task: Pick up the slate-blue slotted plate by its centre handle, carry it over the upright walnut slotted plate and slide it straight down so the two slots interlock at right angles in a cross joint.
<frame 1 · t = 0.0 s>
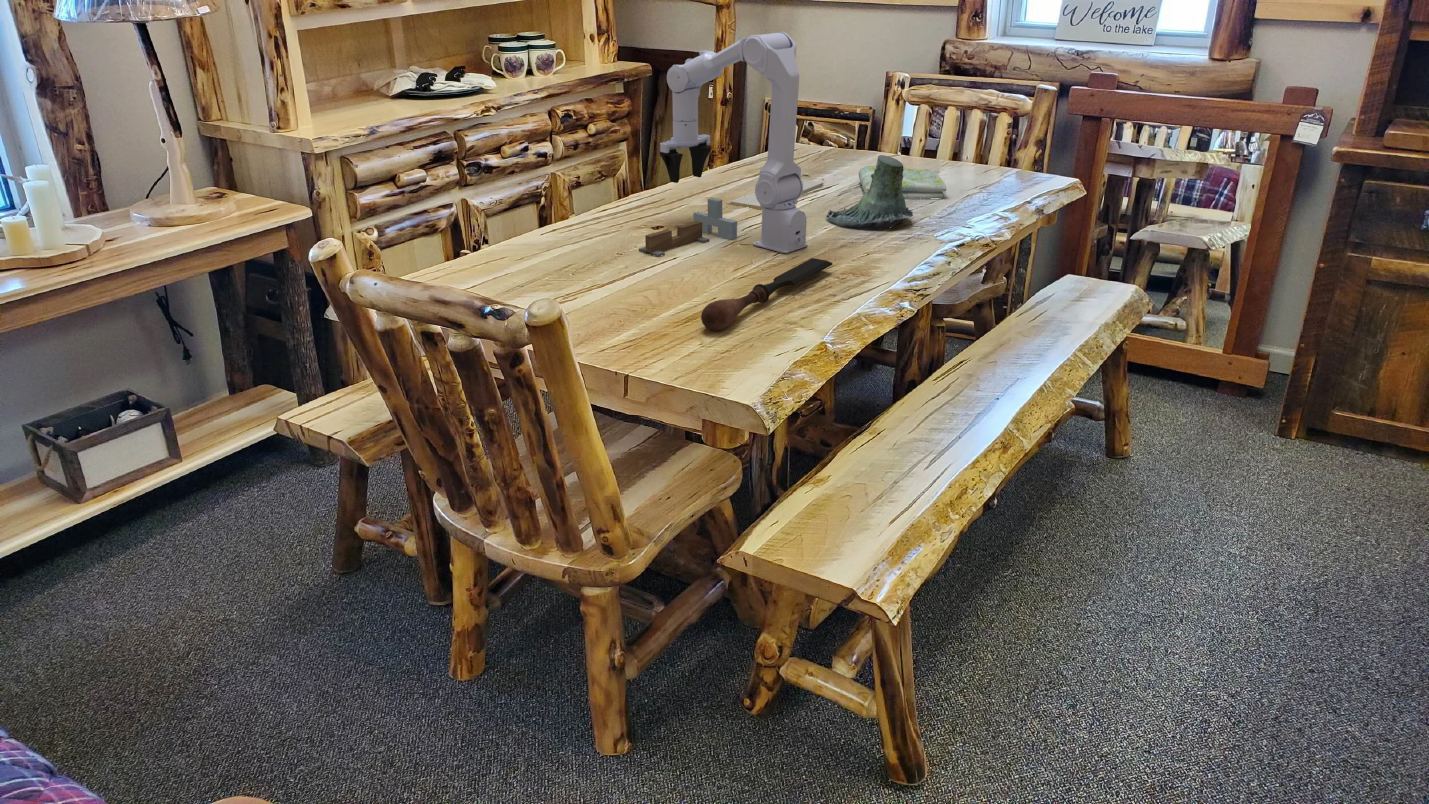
hand: (685, 179, 237), 10 cm above the table, tool pointing down, fingers open, 7 cm apart
towel: (900, 193, 270), on the table
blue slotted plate: (714, 234, 232), on the table
walnut slotted plate: (674, 246, 224), on the table
chisel: (769, 301, 193), on the table
baseboard molding: (774, 197, 266), on the table
tree stump: (869, 221, 243), on the table
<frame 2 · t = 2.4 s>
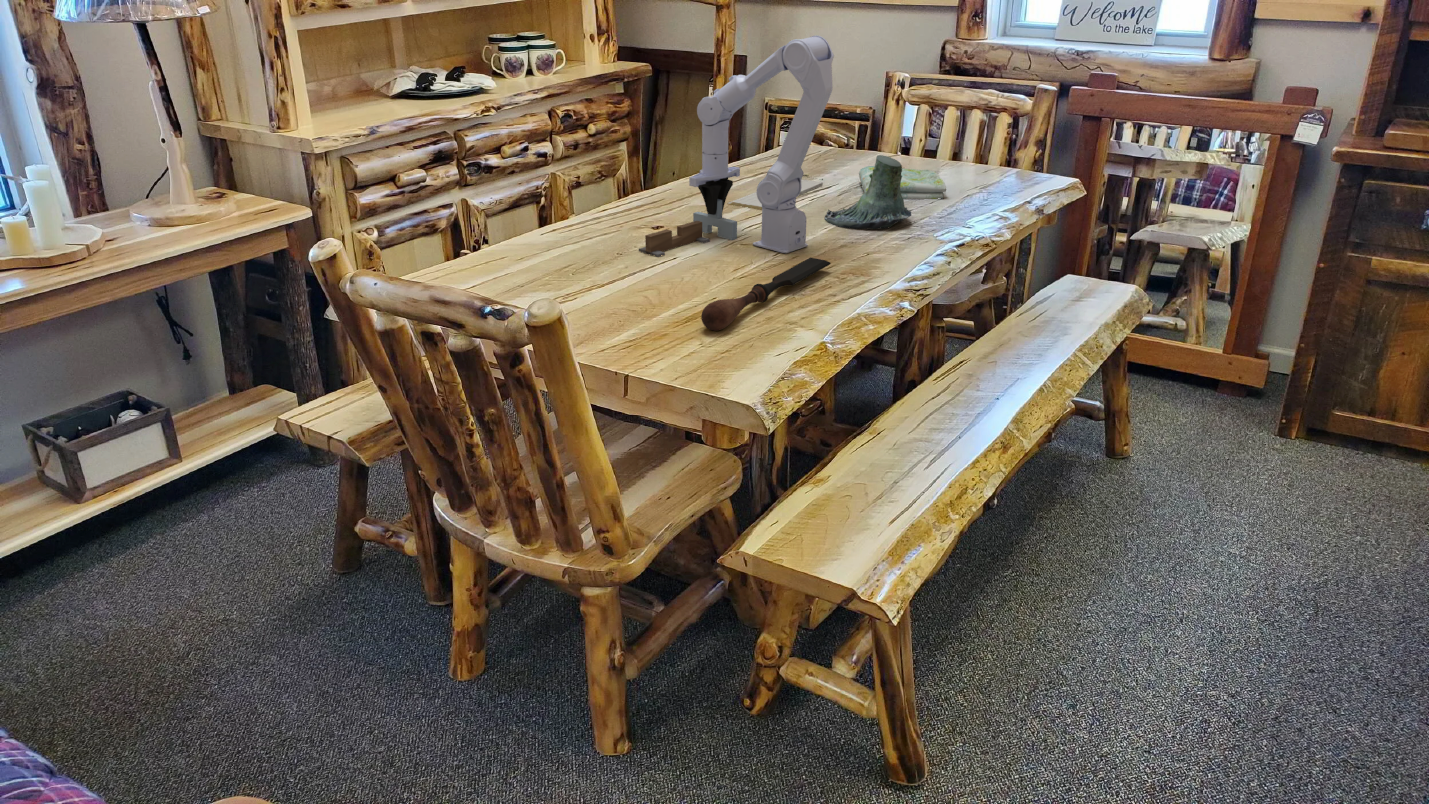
hand: (714, 212, 230), 5 cm above the table, tool pointing down, fingers closed on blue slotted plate, 2 cm apart
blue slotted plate: (714, 234, 232), on the table, touching gripper
everything else where it was.
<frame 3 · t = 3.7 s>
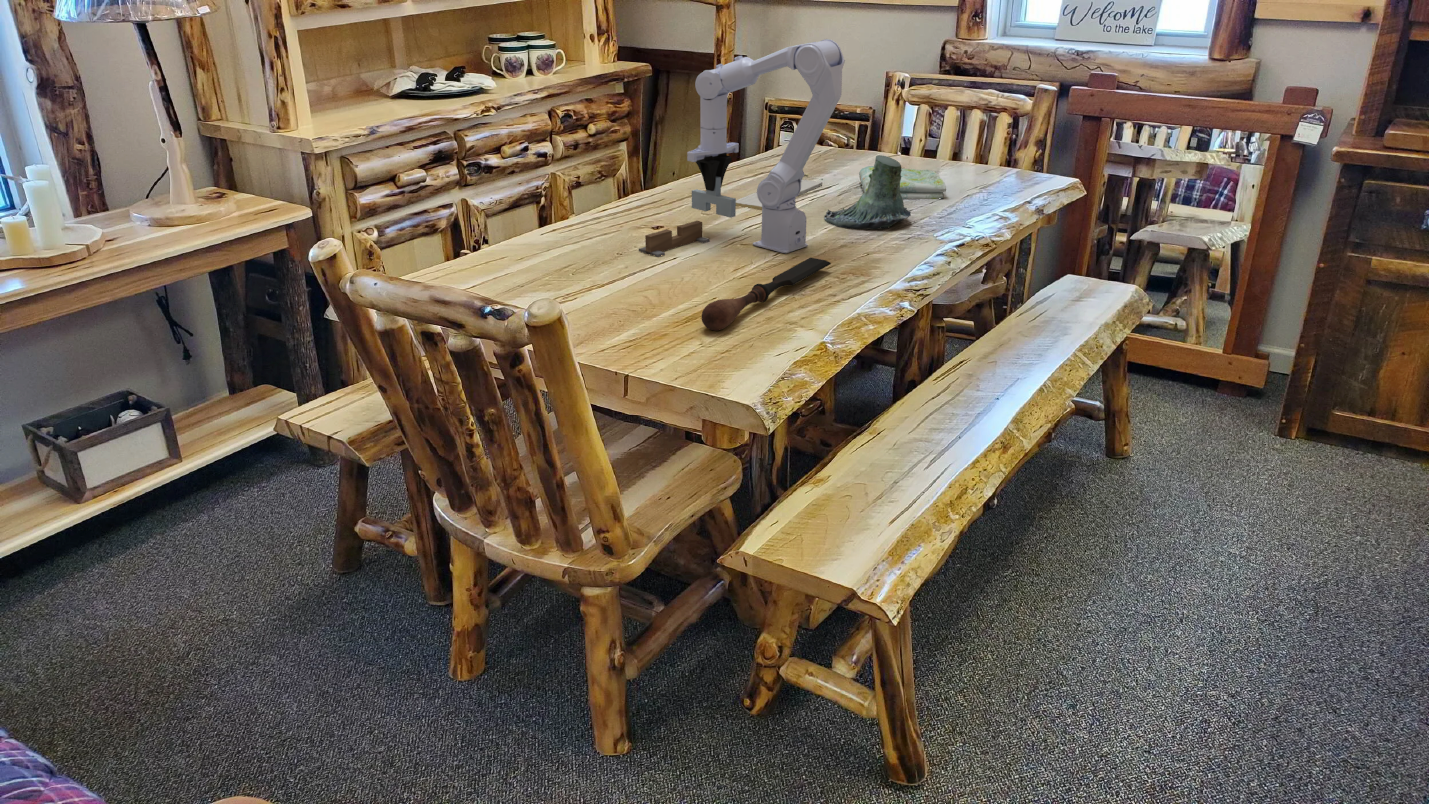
hand: (713, 189, 227), 10 cm above the table, tool pointing down, fingers closed on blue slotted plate
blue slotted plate: (713, 211, 230), point 5 cm above the table, touching gripper
everything else where it was.
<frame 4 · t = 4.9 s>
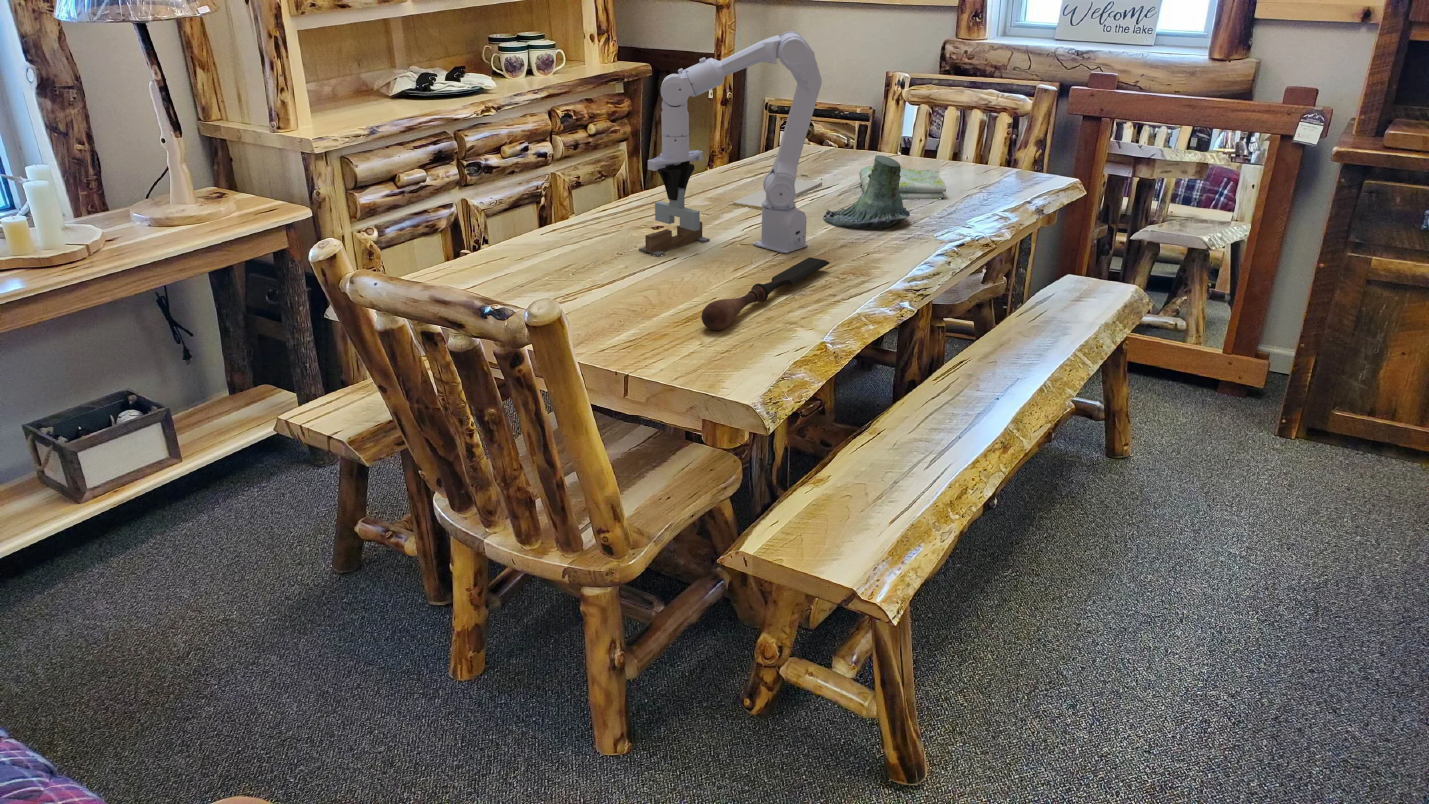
hand: (676, 198, 220), 10 cm above the table, tool pointing down, fingers closed on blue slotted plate
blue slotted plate: (677, 224, 222), point 5 cm above the table, touching gripper
everything else where it was.
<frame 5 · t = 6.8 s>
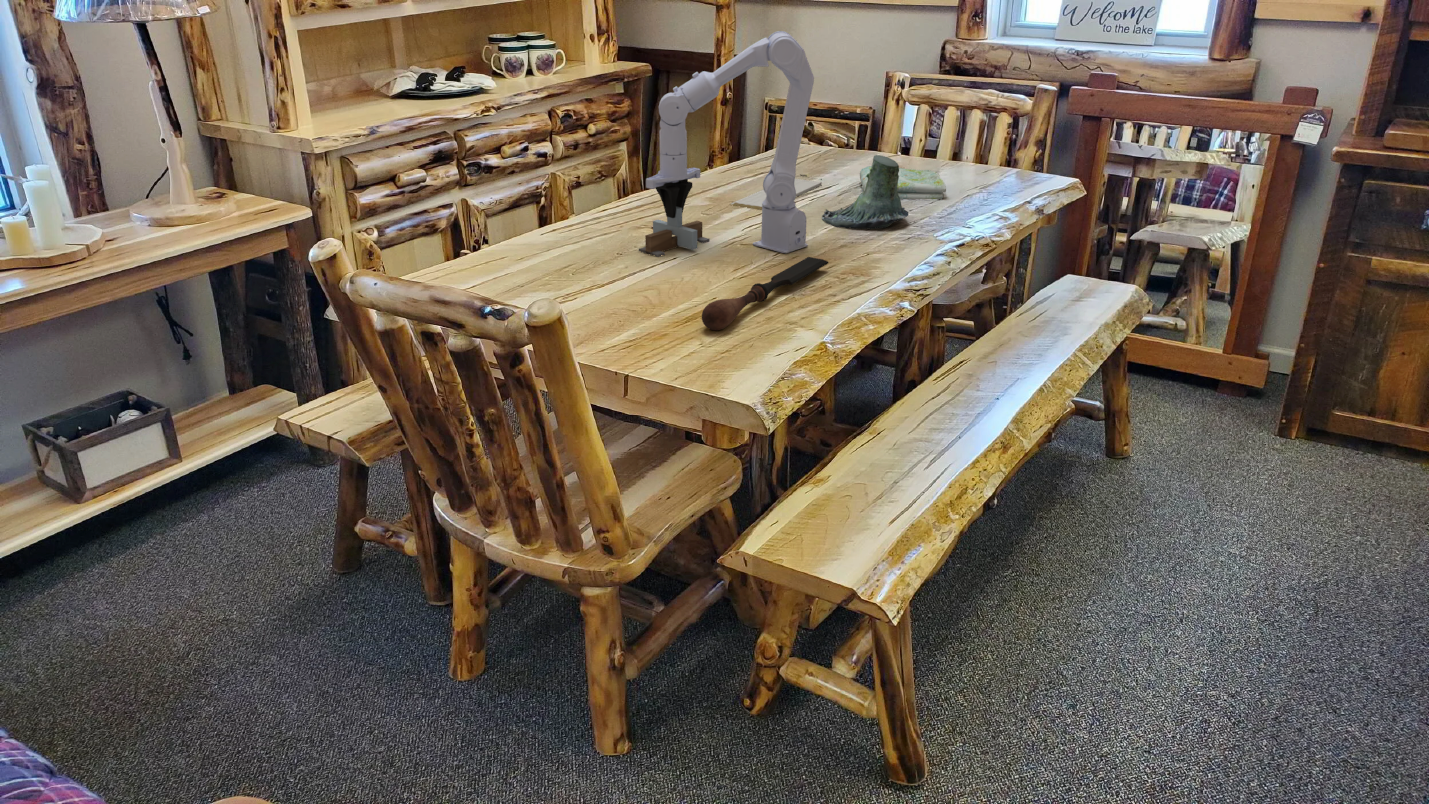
hand: (674, 216, 221), 7 cm above the table, tool pointing down, fingers closed on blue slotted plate, 2 cm apart
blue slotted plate: (674, 243, 223), point 1 cm above the table, touching gripper
everything else where it was.
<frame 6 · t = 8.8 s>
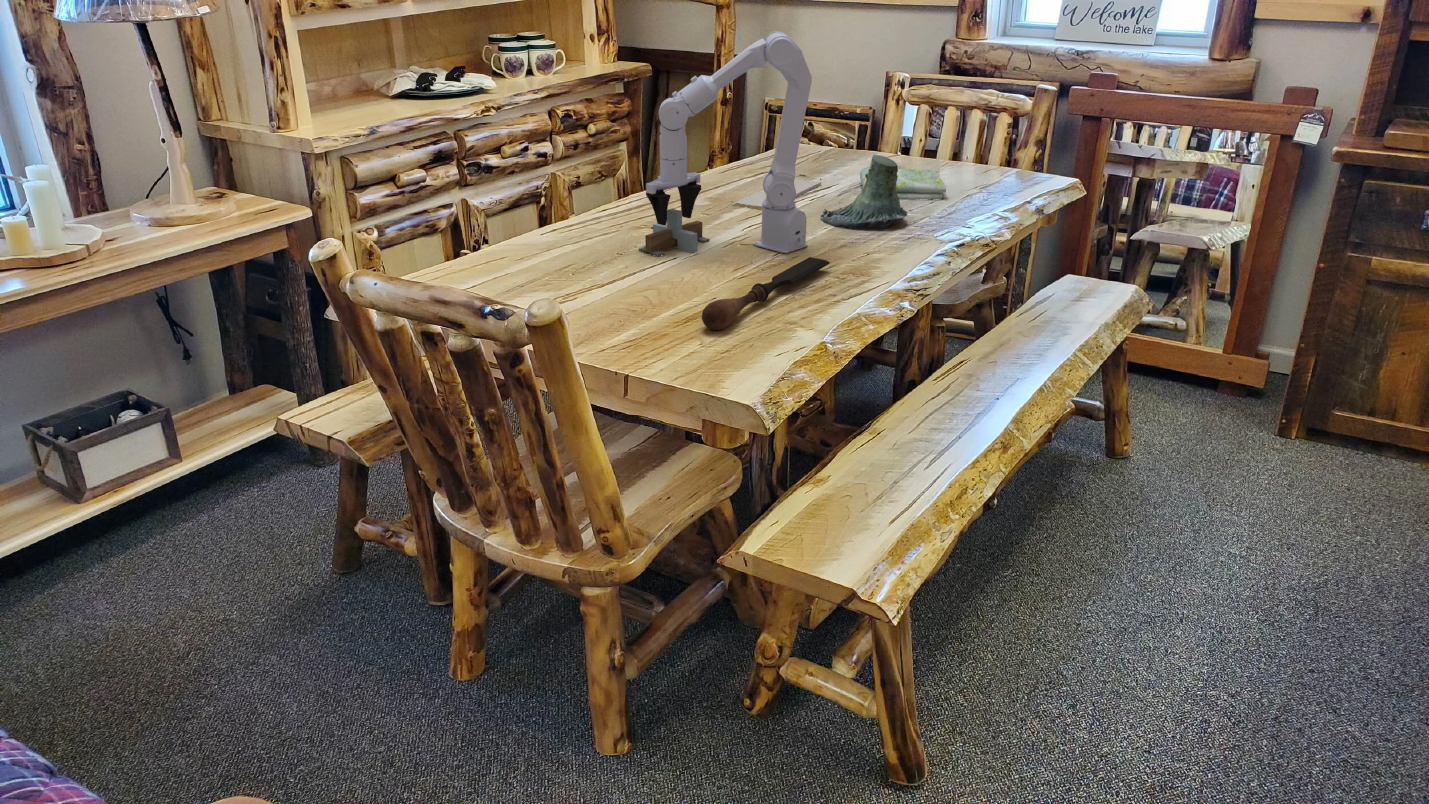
hand: (674, 220, 221), 6 cm above the table, tool pointing down, fingers open, 7 cm apart
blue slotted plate: (674, 246, 224), on the table
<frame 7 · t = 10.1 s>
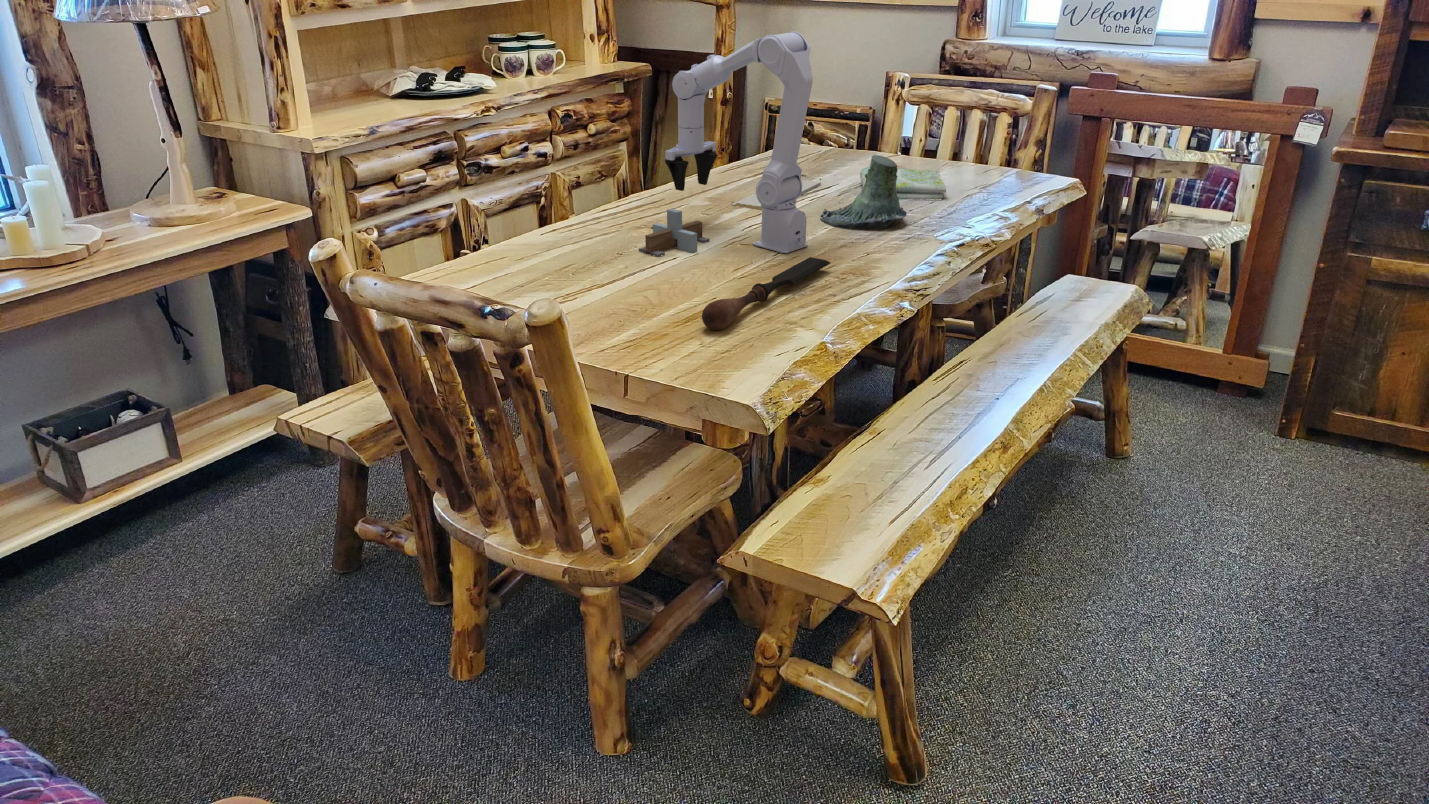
hand: (691, 187, 233), 9 cm above the table, tool pointing down, fingers open, 7 cm apart
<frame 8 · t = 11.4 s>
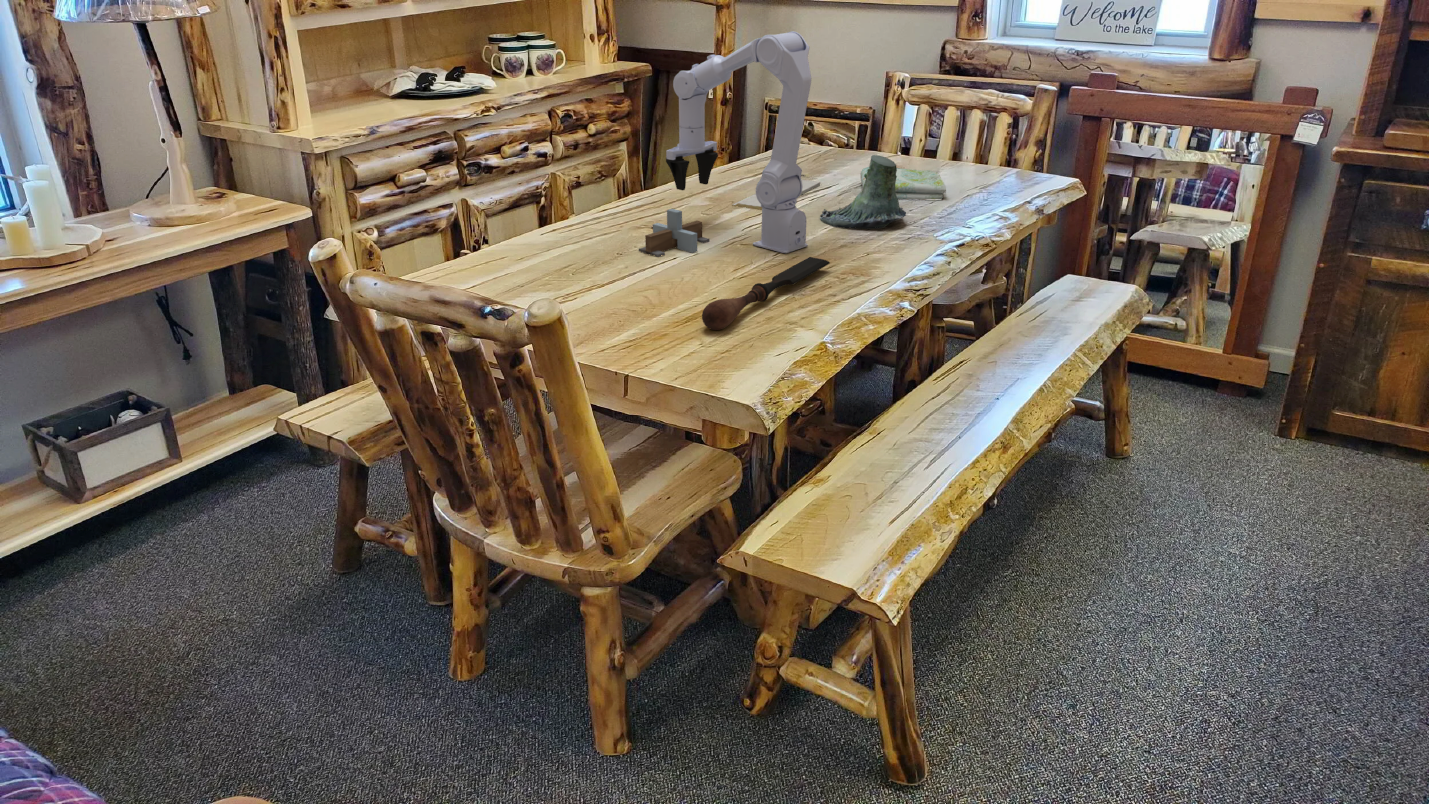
hand: (692, 186, 234), 9 cm above the table, tool pointing down, fingers open, 7 cm apart
at the end: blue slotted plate 0.1 cm off-centre on the walnut slotted plate, point 0.0 cm above the walnut slotted plate's base; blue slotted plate tilted 0°; the gripper is holding nothing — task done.
